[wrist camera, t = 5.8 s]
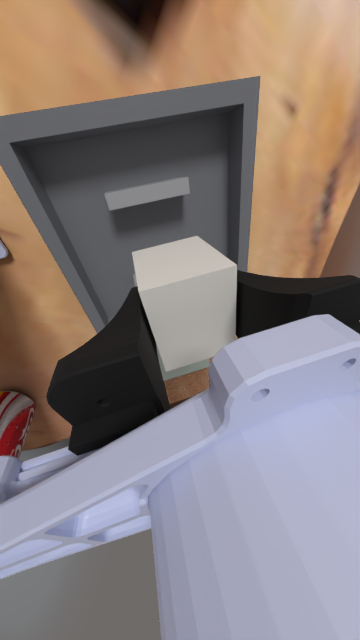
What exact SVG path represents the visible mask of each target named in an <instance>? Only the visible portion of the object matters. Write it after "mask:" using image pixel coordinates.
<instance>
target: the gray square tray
mask: <svg viewBox="0 0 360 640" xmlns="http://www.w3.org/2000/svg"><path fill="white" fill-rule="evenodd" d="M259 88H260V76H257V77H251V78H244V79H238V80H231V81H225V82H218V83H212V84H205V85H199V86H192V87H186V88H179V89H173V90H167V91H160V92H154V93H147V94H141V95H134V96H128V97H121V98H115V99H108V100H102V101H95V102H89V103H82V104H76V105H70V106H63V107H57V108H50V109H44V110H37V111H31V112H24V113H18V114H11V115H5V116H0V165H1V166H2V168H3V170H4V172H5V173H6V175H7V177H8V179H9V180H10V182H11V184H12V186H13V187H14V189H15V191H16V193H17V194H18V196H19V198H20V200H21V201H22V203H23V205H24V206H25V208H26V210H27V212H28V213H29V215H30V217H31V219H32V220H33V222H34V224H35V226H36V227H37V229H38V231H39V233H40V234H41V236H42V238H43V240H44V241H45V243H46V245H47V246H48V248H49V250H50V252H51V253H52V255H53V257H54V259H55V260H56V262H57V264H58V266H59V267H60V269H61V271H62V273H63V274H64V276H65V278H66V280H67V281H68V283H69V285H70V287H71V288H72V290H73V292H74V293H75V295H76V297H77V299H78V300H79V302H80V304H81V306H82V307H83V309H84V311H85V313H86V314H87V316H88V318H89V320H90V321H91V323H92V325H93V327H94V328H95V330H96V332H97V334H98V333H99V332H100V331H101V330H102V329H103V328H104V327H105V326H106V325H107V324H108V323H109V322H110V321H111V320H112V319H113V318H114V316H115V315H116V314H117V312H118V311H119V309H120V308H121V306H122V305H123V303H124V301H125V299H126V298H127V296H128V294H129V292H130V290H131V288H133V287H136V286H137V280H136V274H135V268H134V262H133V256H132V252H134V251H138V250H142V249H146V248H150V247H154V246H158V245H162V244H166V243H170V242H174V241H178V240H182V239H186V238H190V237H194V236H198V237H200V238H201V239H202V240H204V241H205V242H206V243H208V244H209V245H211V246H212V247H213V248H215V249H216V250H217V251H219V252H220V253H221V254H223V255H224V256H225V257H227V258H228V259H229V260H231V261H232V262H234V263H235V264H236V265H237V270H240V271H244V272H247V264H248V250H249V235H250V220H251V206H252V191H253V176H254V162H255V147H256V132H257V118H258V103H259Z"/></svg>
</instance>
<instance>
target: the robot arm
mask: <svg viewBox="0 0 360 640" xmlns="http://www.w3.org/2000/svg"><path fill="white" fill-rule="evenodd" d="M8 254H9V252H8V250H7V248H6V247H5V245H4V244H3V243H2V241H1V240H0V259H2V258H5V257H7V256H8ZM359 320H360V278H358V277H355V276H351V275H347V276H336V277H326V278H281V277H271V276H263V275H257V274H253V273H248V272H244V271H240V270H237V293H236V335H237V337H238V339H237V340H235V341H233V342H231V343H229V344H227V345H225V346H224V347H223V348H222V349H221V350H220V351H219V352H218V353H217V354H216V355H215V356H214V357H213V359H212V360H211V364H210V368H209V371H208V374H209V382H210V384H209V388H207V389H206V390H204V391H202V392H200V393H199V394H197V395H195V396H193V397H191V398H190V399H188V400H186V401H184V402H182V403H181V404H179V405H177V406H175V407H173V408H172V409H170V406H169V401H168V397H167V393H166V389H165V385H164V381H163V377H162V373H161V369H160V364H159V360H158V354H157V346H156V341H155V338H154V335H153V332H152V330H151V327H150V324H149V321H148V318H147V315H146V312H145V309H144V306H143V303H142V301H141V298H140V295H139V292H138V286H136V287H133V288H131V290H130V292H129V294H128V296H127V298H126V299H125V301H124V303H123V305H122V306H121V308H120V309H119V311H118V312H117V314H116V315H115V316H114V318H113V319H112V320H111V321H110V322H109V323H108V324H107V325H106V326H105V327H104V328H103V329H102V330H101V331H100V332H99V333H98V334H97V335H96V336H94V337H93V338H92V339H91V340H89V341H88V342H87V343H85V344H84V345H82V346H81V347H80V348H78V349H77V350H75V351H73V352H72V353H70V354H69V355H67V356H65V357H64V358H62V359H60V360H59V361H58V363H57V365H56V368H55V371H54V374H53V377H52V380H51V383H50V386H49V389H48V393H47V396H46V397H47V401H48V404H49V405H50V406H51V407H52V409H53V410H55V411H56V412H57V413H58V414H59V415H61V416H62V417H63V418H64V419H65V420H67V421H68V422H69V423H70V424H71V425H72V431H71V436H70V442H69V446H68V447H65V448H62V449H59V450H56V451H53V452H50V453H47V454H44V455H42V456H38V457H35V458H33V459H29V460H26V461H24V462H22V461H21V460H19V459H18V458H16V457H14V456H10V455H2V456H0V579H3V578H6V577H8V576H11V575H13V574H16V573H18V572H22V571H24V570H27V569H30V568H33V567H36V566H39V565H41V564H44V563H47V562H50V561H52V560H56V559H59V558H62V557H65V556H68V555H70V554H74V553H77V552H80V551H83V550H86V549H89V548H92V547H95V546H98V545H102V544H105V543H108V542H111V541H114V540H117V539H120V538H123V537H126V536H129V535H132V534H135V533H139V532H142V531H145V530H148V529H152V540H153V550H154V561H155V571H156V572H155V573H156V584H157V594H158V605H159V616H160V627H161V639H162V640H360V322H359Z"/></svg>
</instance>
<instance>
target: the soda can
mask: <svg viewBox="0 0 360 640" xmlns="http://www.w3.org/2000/svg"><path fill="white" fill-rule="evenodd" d="M34 411H35V404H34V402H33V401H32V400H31V399H30V398H28V397H27V396H25V395H24V394H22V393H19V392H15V391H9V390H1V391H0V456H2V455H10V456H14V457H16V458H18V459H19V457H20V454H21V451H22V449H23V446H24V443H25V440H26V437H27V434H28V432H29V429H30V426H31V423H32V419H33V415H34Z"/></svg>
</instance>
